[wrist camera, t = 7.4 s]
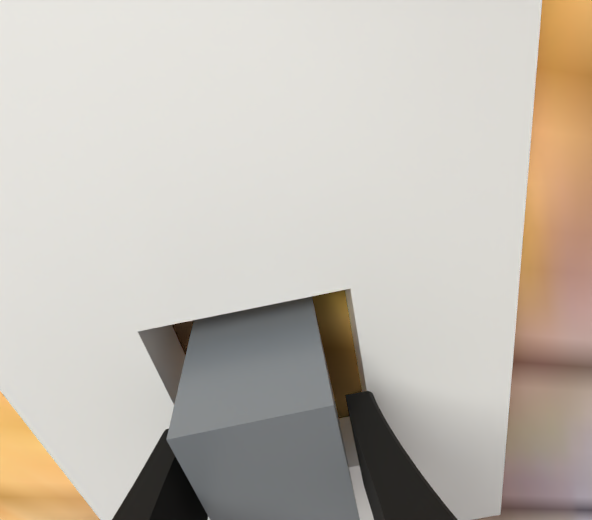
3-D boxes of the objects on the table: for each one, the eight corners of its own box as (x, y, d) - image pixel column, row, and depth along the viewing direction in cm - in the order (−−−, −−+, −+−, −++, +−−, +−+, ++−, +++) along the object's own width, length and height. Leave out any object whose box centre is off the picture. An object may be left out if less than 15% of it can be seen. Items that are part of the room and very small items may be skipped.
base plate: (476, 466, 17) (500, 514, 16) (157, 524, 18) (145, 577, 16) (495, -187, 8) (562, -253, 6) (-200, -17, 8) (-327, -30, 6)
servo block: (333, 390, 15) (363, 535, 11) (240, 409, 15) (233, 561, 11) (307, 277, 13) (333, 405, 8) (198, 301, 13) (166, 439, 8)
